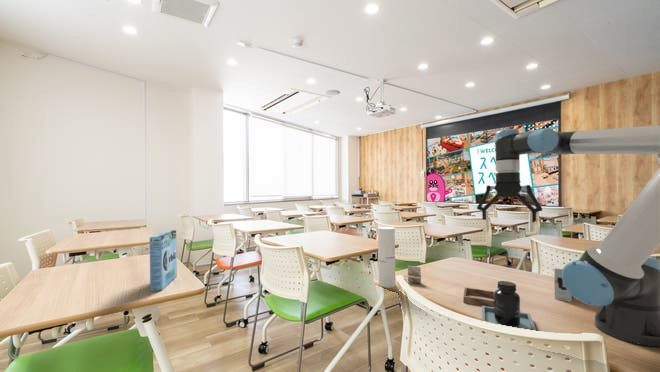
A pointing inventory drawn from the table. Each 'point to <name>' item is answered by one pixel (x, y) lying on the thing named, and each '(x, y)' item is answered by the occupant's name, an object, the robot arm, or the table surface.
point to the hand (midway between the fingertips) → (508, 229)
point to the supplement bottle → (507, 304)
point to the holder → (478, 300)
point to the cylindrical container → (386, 256)
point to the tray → (488, 316)
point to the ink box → (561, 285)
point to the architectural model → (414, 274)
